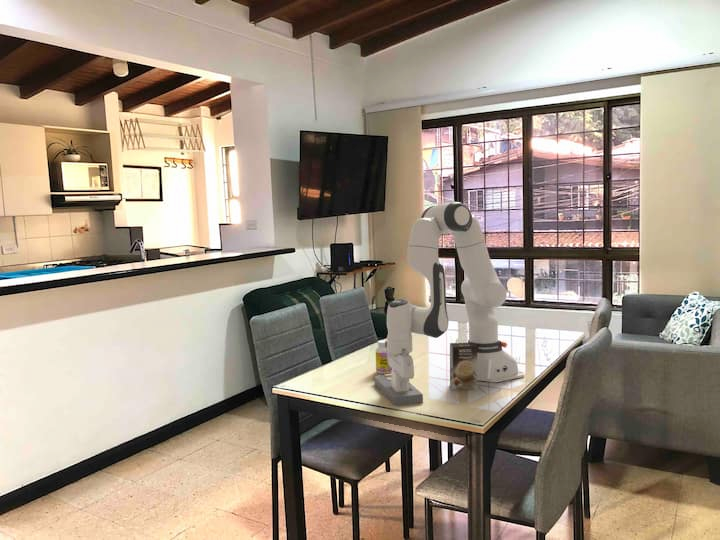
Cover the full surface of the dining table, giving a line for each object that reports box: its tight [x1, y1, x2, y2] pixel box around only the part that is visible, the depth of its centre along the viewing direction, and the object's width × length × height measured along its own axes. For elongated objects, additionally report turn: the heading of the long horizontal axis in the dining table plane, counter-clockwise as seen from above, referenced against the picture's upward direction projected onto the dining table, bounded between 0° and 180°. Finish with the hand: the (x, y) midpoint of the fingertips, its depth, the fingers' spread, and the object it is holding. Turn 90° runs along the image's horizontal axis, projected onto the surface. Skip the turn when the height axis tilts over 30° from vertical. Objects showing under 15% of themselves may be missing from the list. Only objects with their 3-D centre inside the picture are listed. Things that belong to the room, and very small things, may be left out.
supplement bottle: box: [375, 339, 393, 375], centre depth 233 cm, size 7×7×13 cm
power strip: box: [373, 373, 424, 407], centre depth 207 cm, size 10×26×4 cm, turn 14°
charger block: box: [390, 369, 410, 393], centre depth 201 cm, size 5×5×9 cm
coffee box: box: [449, 342, 478, 391], centre depth 210 cm, size 9×6×16 cm
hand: (400, 384), depth 202 cm, fingers closed on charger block, 5 cm apart
